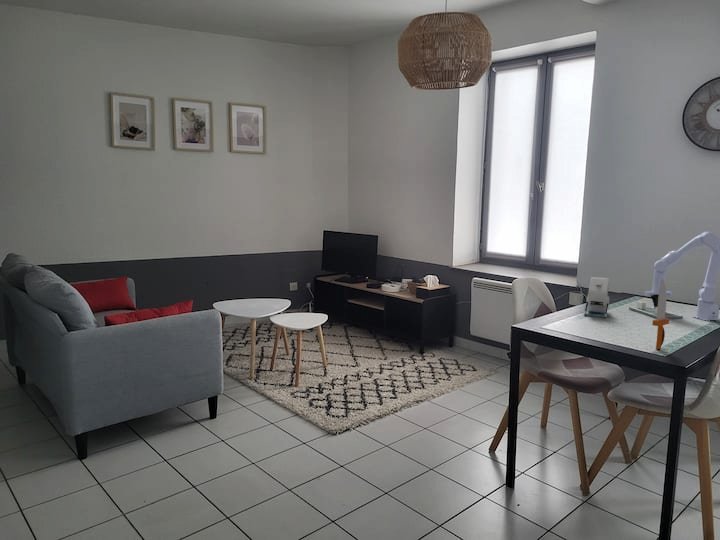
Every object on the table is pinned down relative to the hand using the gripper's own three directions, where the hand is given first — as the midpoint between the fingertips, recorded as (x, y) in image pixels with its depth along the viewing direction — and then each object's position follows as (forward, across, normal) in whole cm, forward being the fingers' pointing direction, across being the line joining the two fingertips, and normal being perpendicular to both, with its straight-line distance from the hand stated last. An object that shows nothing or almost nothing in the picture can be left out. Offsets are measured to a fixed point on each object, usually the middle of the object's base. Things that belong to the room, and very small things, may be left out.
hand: (656, 308), depth 292 cm
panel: (+3, +1, 0) cm, 3 cm away
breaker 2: (+1, +4, +7) cm, 8 cm away
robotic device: (+3, +32, -4) cm, 32 cm away
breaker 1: (+1, +4, -7) cm, 8 cm away
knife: (+3, +46, +61) cm, 76 cm away
